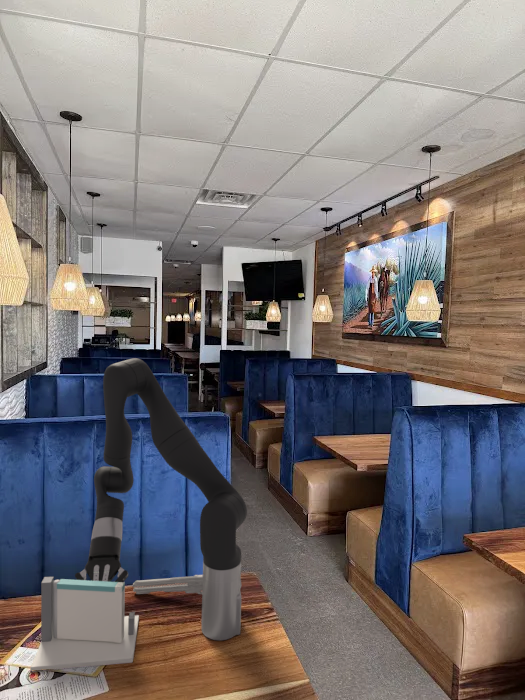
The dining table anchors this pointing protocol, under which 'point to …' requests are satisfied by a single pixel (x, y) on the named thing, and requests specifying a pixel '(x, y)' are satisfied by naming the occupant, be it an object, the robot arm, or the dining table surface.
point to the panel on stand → (79, 642)
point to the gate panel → (88, 610)
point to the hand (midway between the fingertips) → (97, 615)
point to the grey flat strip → (192, 587)
